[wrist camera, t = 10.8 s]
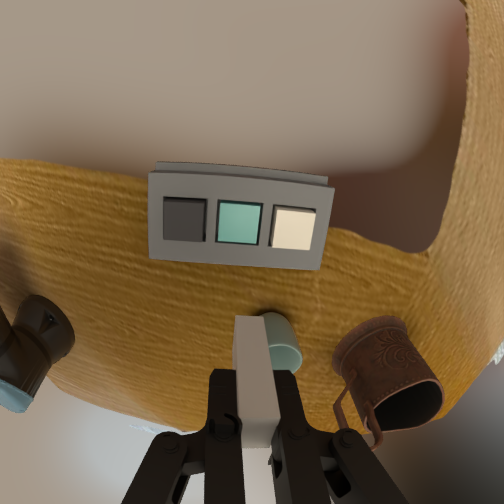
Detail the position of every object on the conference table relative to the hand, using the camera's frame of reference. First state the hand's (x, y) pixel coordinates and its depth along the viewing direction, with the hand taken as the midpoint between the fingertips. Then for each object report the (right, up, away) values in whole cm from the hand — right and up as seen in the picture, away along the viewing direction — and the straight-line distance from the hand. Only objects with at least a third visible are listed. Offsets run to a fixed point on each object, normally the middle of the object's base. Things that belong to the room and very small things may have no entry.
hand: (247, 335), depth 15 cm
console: (-2, +10, +24) cm, 26 cm away
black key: (-9, +9, +21) cm, 25 cm away
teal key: (-2, +9, +23) cm, 25 cm away
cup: (+3, -8, +32) cm, 33 cm away
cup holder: (+23, -16, +37) cm, 47 cm away
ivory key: (+5, +8, +22) cm, 25 cm away
